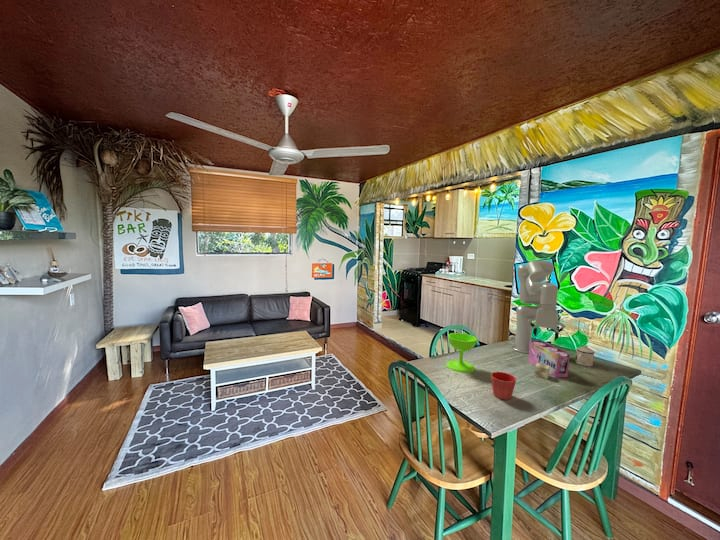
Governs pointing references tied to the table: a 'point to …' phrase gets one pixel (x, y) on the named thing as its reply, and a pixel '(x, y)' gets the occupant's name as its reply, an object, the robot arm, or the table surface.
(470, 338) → the wineglass
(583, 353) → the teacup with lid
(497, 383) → the flower pot
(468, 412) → the table surface
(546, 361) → the gum box
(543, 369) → the birch block
